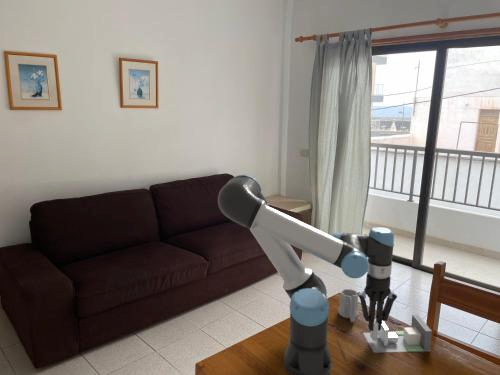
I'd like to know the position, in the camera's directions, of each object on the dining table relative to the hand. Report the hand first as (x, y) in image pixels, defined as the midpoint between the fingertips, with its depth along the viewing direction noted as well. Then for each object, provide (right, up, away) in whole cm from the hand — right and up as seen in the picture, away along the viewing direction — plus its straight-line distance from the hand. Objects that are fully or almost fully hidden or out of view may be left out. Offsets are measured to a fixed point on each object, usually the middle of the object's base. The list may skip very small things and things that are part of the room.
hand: (373, 338), depth 131 cm
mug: (-4, +1, +17) cm, 17 cm away
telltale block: (+13, -1, +1) cm, 13 cm away
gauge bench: (+8, -3, +1) cm, 8 cm away
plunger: (+5, -1, 0) cm, 5 cm away
